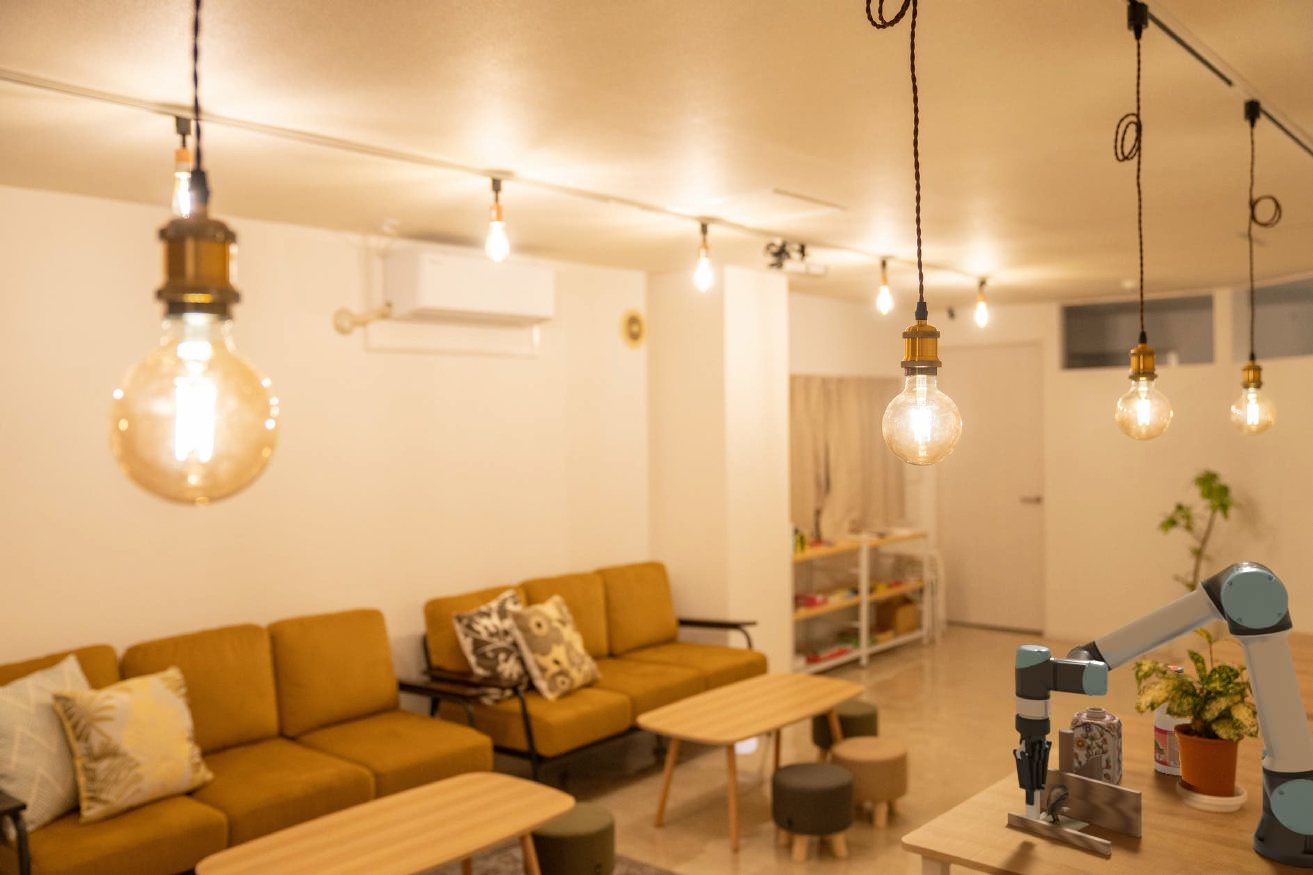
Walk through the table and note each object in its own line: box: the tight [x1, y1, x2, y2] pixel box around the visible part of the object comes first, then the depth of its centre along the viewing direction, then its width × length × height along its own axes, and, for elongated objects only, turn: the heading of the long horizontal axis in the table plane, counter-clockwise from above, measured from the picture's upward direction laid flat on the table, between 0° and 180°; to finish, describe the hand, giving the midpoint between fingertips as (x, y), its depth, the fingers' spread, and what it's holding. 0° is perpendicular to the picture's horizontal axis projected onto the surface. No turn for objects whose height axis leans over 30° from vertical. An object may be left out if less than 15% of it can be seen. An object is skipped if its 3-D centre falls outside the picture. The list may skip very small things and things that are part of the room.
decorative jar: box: [1069, 706, 1123, 785], centre depth 273 cm, size 12×12×18 cm
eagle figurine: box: [1040, 784, 1071, 826], centre depth 239 cm, size 8×7×9 cm
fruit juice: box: [1153, 665, 1190, 775], centre depth 276 cm, size 9×9×28 cm
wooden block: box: [1058, 728, 1102, 781], centre depth 251 cm, size 4×11×18 cm, turn 32°
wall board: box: [1007, 766, 1143, 856], centre depth 237 cm, size 24×16×10 cm, turn 40°
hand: (1032, 817), depth 234 cm, fingers closed
